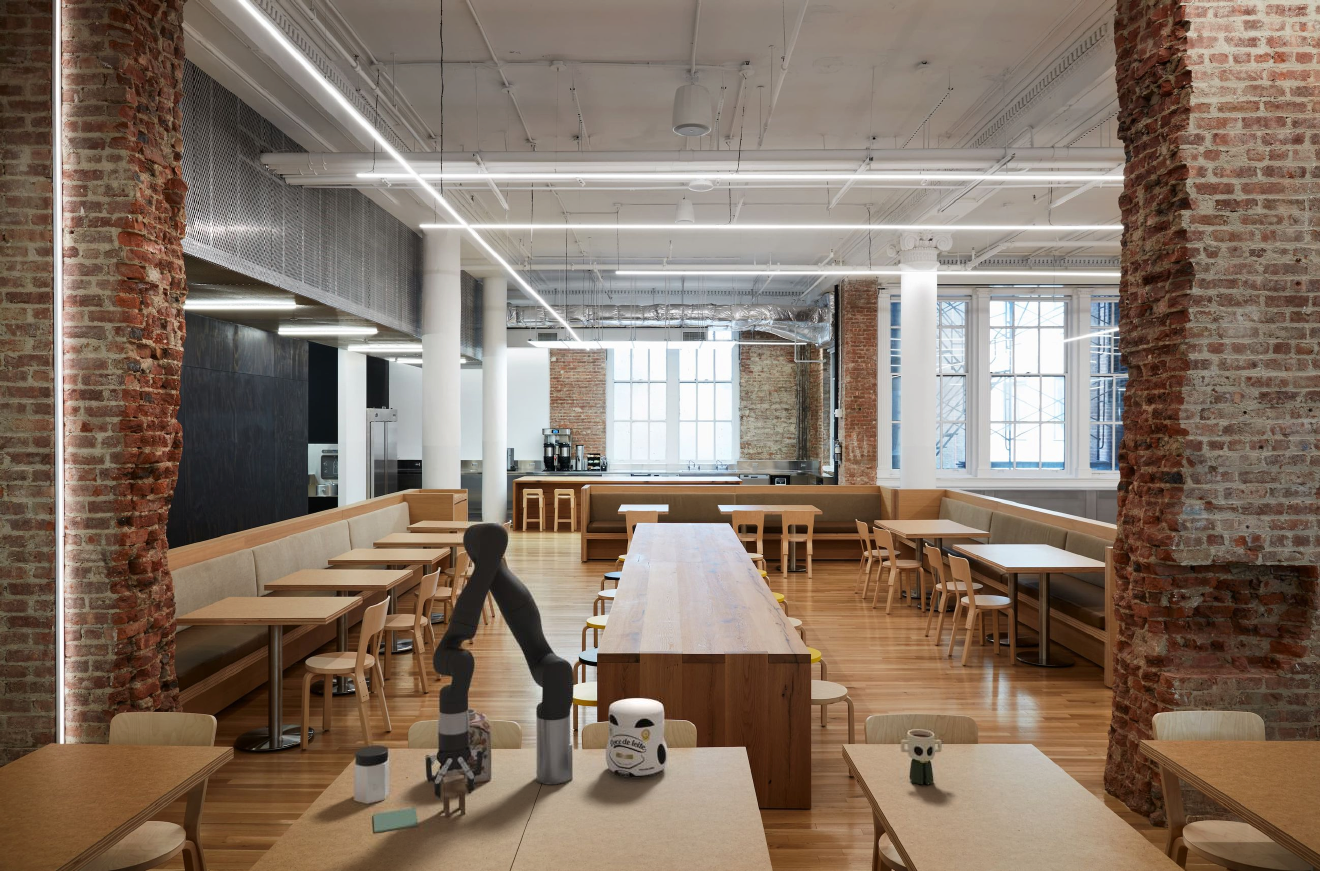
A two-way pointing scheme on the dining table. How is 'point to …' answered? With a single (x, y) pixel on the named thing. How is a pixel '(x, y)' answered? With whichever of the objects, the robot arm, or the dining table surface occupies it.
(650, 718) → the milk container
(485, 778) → the decorative jar
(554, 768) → the robot arm
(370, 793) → the jar
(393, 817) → the mat
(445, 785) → the pronged tan cube
